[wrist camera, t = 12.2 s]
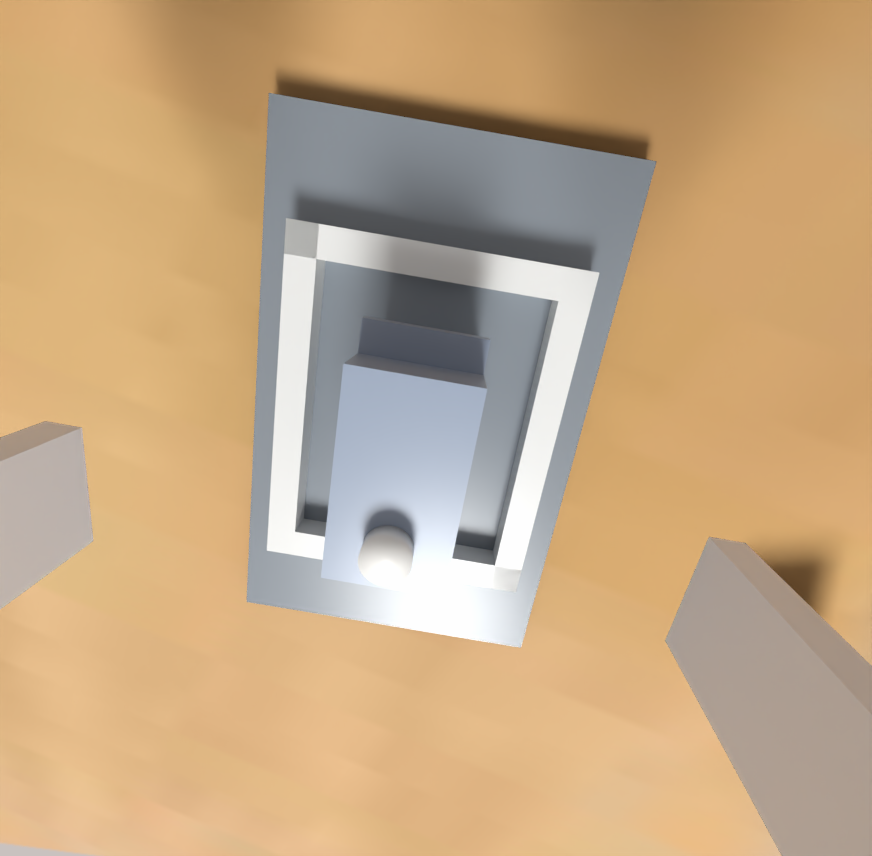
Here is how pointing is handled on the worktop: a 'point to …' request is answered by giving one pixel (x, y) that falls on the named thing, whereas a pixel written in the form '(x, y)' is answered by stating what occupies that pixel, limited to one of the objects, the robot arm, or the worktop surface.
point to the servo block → (403, 455)
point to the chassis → (436, 308)
